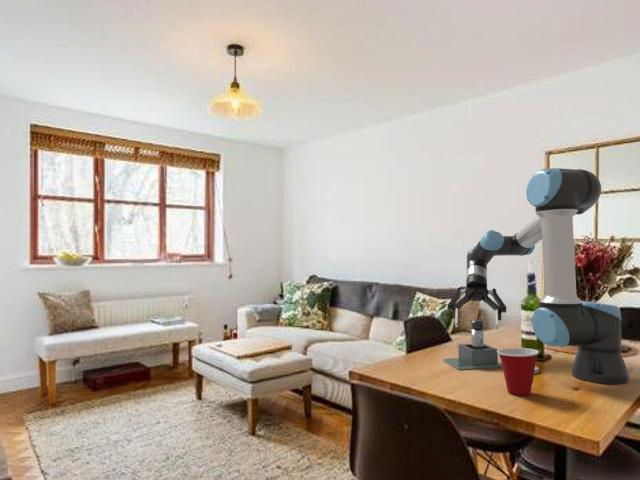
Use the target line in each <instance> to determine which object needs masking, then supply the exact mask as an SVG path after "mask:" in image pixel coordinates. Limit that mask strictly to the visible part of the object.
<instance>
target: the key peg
mask: <svg viewBox="0 0 640 480" xmlns="http://www.w3.org/2000/svg"><path fill="white" fill-rule="evenodd" d="M470 321H471V323H470V324H471V325H470V326H471V332H470V333H471V335H470V336H471V338H470V339H471V344H472V349H484V344H485V341H484V340H485V339H484V337H485V336H484V334H485V333H484V320H481V319H472V320H470Z"/></svg>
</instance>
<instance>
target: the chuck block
mask: <svg viewBox="0 0 640 480" xmlns="http://www.w3.org/2000/svg"><path fill="white" fill-rule="evenodd" d="M498 350H499V349H498V348H495V347H494V346H490V345H488V344H486V343H484V349H472V343H465V344H463V343H462V344H458V357H452V358H451V357H450V358H443V362H444V363H445V364H447V365H449V366H451V367H452V368H454V369H456V370H457V371H459V370H460V371H462V370H479V369H481V368H482V369H496V368H497V367H501V368H503V367H502V363H500V362H499V354H498V353H497V351H498ZM497 369H498V368H497Z"/></svg>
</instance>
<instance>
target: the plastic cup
mask: <svg viewBox="0 0 640 480" xmlns="http://www.w3.org/2000/svg"><path fill="white" fill-rule="evenodd" d="M497 353H498V357H499V358H500V362H501V364H502V367H501V368H502V370H503V371H502V372H503V375H504V377H503V378H504V380H505V385H506V390H507V393H508V394H510V395H512V394H513V396H516V395H517V397H528V396H530V395H531V393H532V387H533V383H534V376H535V374H534V371H535V366H536V365H537V358H538V355H539V353H540V351H539V350H537V349H534V348H526V347H508V348H500V349H498V351H497Z"/></svg>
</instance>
